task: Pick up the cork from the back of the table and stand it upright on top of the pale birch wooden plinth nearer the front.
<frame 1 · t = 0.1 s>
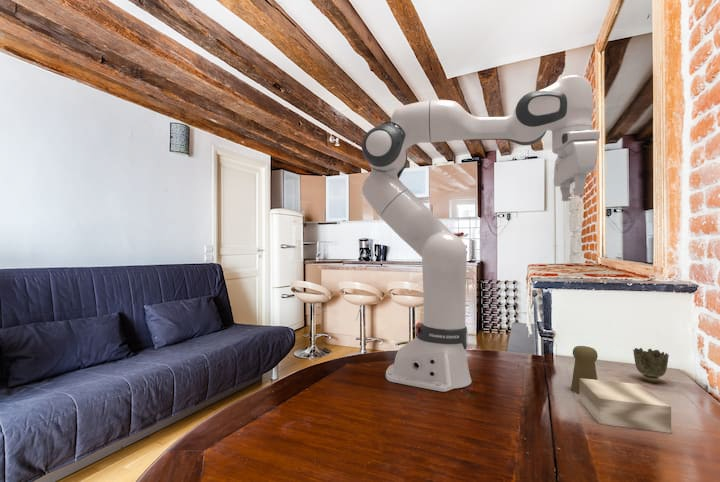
hand: (572, 198, 87), 48 cm above the table, tool pointing down, fingers open, 8 cm apart
cup: (650, 381, 95), on the table
cork: (584, 392, 87), on the table
plinth: (620, 414, 75), on the table
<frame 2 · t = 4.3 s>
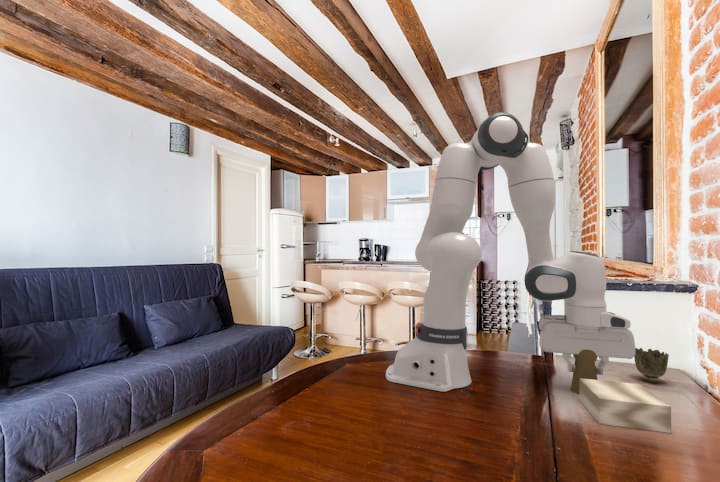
hand: (584, 372, 87), 5 cm above the table, tool pointing down, fingers closed on cork, 4 cm apart
cork: (585, 392, 87), on the table, touching gripper
everything else where it was.
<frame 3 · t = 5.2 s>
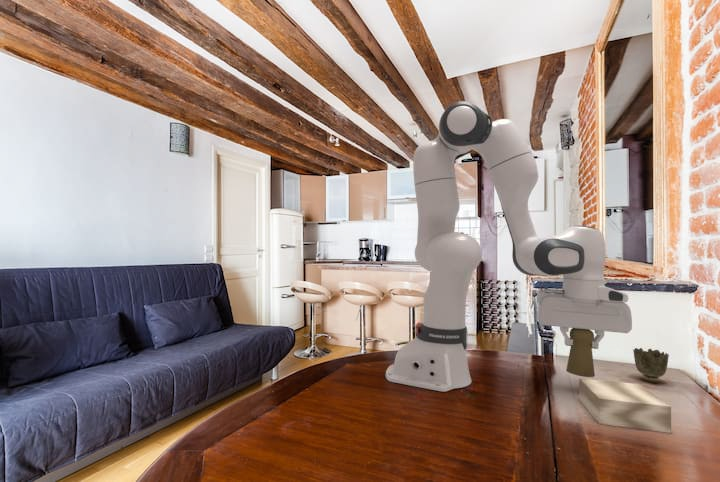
hand: (581, 346, 88), 11 cm above the table, tool pointing down, fingers closed on cork, 4 cm apart
cork: (580, 373, 87), point 4 cm above the table, touching gripper
everything else where it was.
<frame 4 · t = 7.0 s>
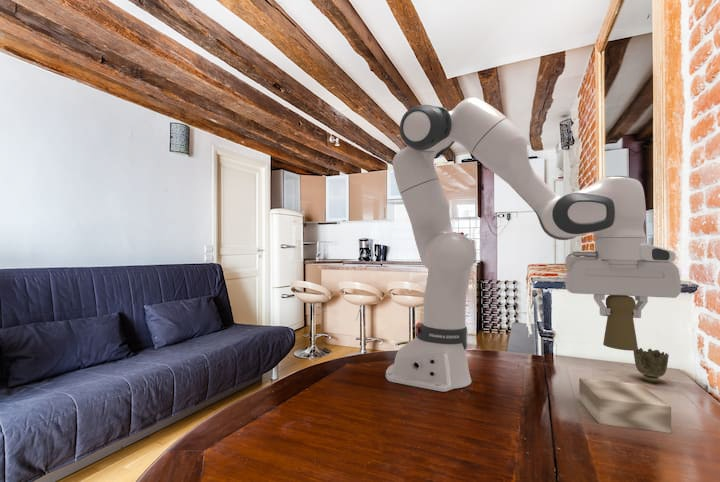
hand: (619, 316, 75), 21 cm above the table, tool pointing down, fingers closed on cork, 4 cm apart
cork: (620, 347, 75), point 14 cm above the table, touching gripper
everything else where it was.
when the fingers open (11 cm above the table, at t = 9.4 s): cork stays where it is, resting on plinth.
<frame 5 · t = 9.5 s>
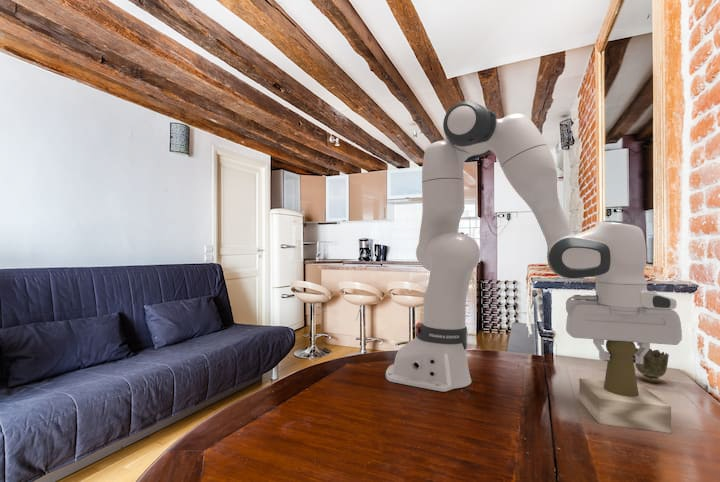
hand: (620, 361, 75), 11 cm above the table, tool pointing down, fingers open, 5 cm apart
cork: (620, 391, 75), point 5 cm above the table, touching plinth
everything else where it was.
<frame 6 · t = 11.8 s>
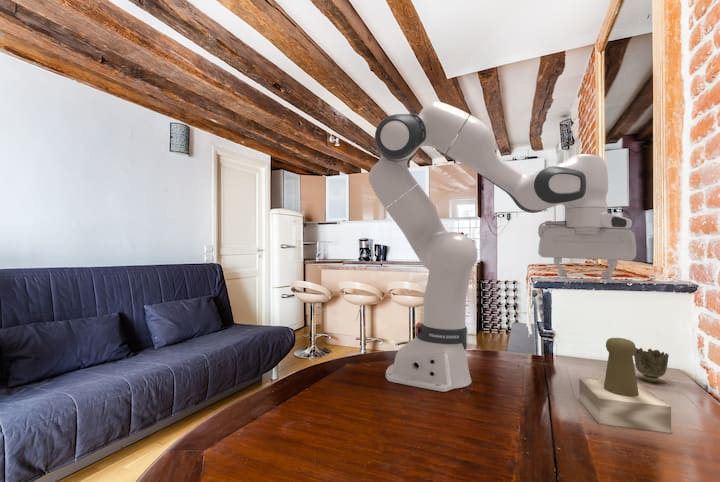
hand: (584, 277, 86), 28 cm above the table, tool pointing down, fingers open, 8 cm apart
nothing on the table moved.
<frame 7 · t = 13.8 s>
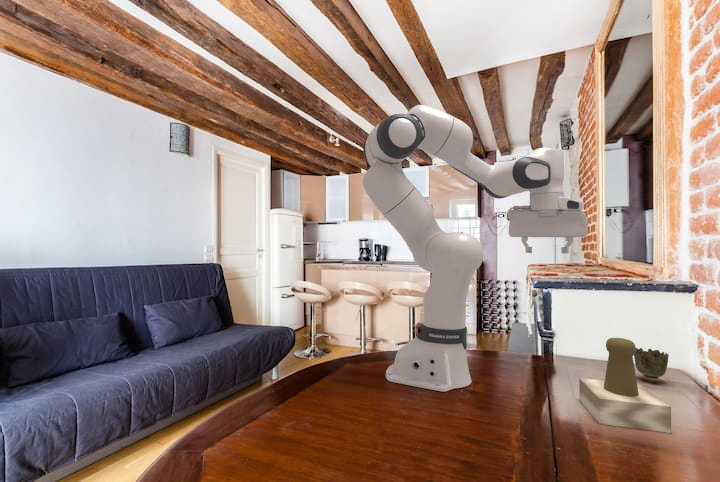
hand: (546, 253, 101), 34 cm above the table, tool pointing down, fingers open, 8 cm apart
nothing on the table moved.
at the end: cork inside the target area on the plinth (0.1 cm from its centre), point 4.8 cm above the plinth's base; cork tilted 0°; the gripper is holding nothing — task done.
